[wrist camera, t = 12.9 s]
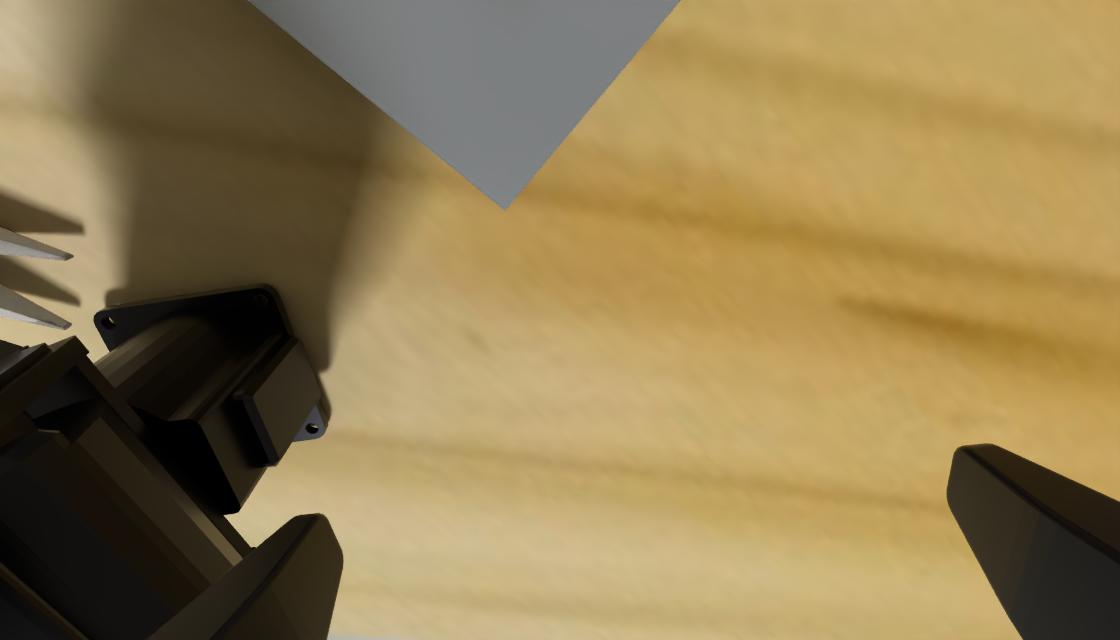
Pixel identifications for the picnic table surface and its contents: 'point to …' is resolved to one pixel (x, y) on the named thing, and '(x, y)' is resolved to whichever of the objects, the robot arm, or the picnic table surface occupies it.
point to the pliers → (15, 305)
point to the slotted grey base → (477, 70)
